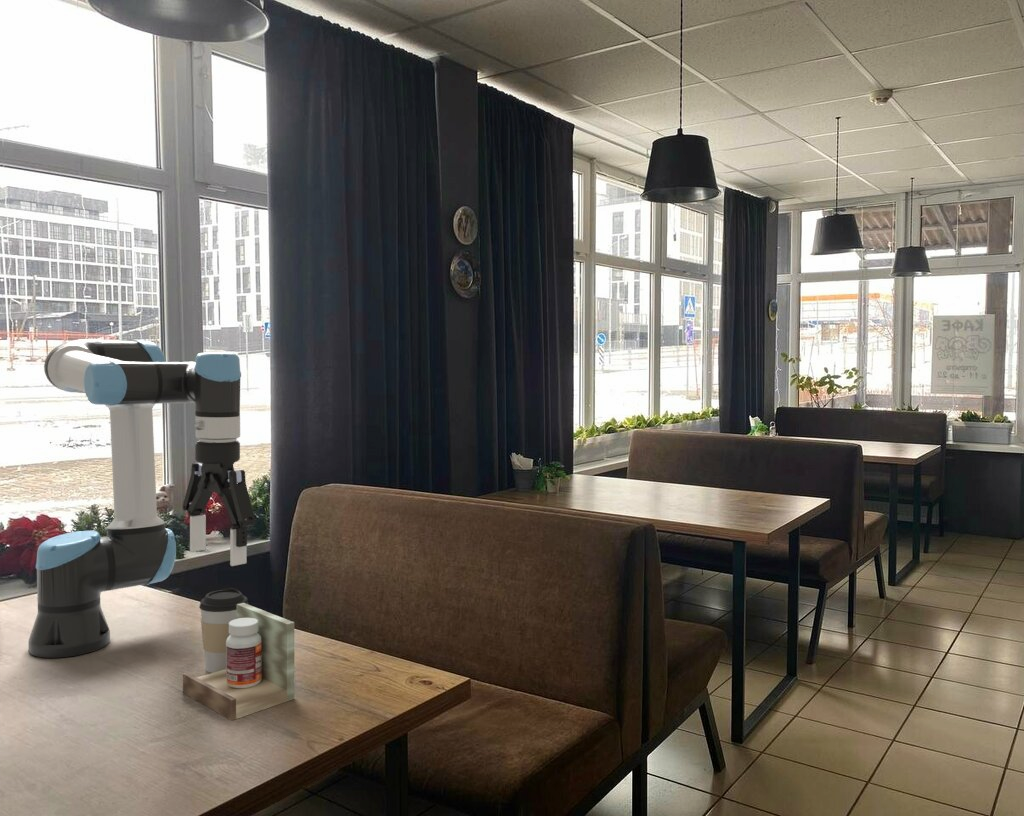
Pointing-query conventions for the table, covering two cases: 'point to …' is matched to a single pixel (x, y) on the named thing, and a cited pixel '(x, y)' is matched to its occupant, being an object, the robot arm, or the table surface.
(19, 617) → the table surface
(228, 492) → the robot arm
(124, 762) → the table surface
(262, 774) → the table surface
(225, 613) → the coffee cup
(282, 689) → the wooden l-shaped piece
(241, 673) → the pill bottle
